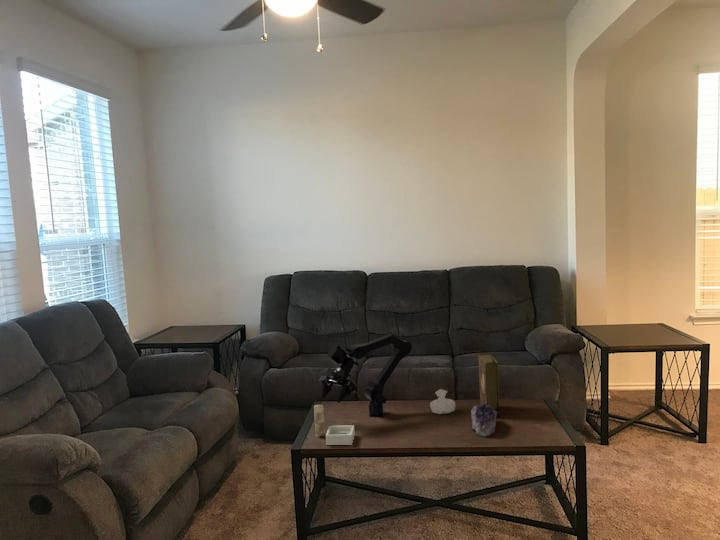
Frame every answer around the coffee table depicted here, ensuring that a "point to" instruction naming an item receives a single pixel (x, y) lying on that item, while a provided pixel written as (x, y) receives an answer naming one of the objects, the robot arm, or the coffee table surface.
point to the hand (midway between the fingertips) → (329, 400)
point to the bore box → (340, 435)
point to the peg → (319, 420)
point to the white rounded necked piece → (442, 403)
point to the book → (489, 382)
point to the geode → (483, 420)
